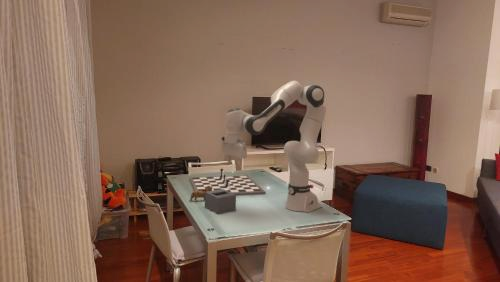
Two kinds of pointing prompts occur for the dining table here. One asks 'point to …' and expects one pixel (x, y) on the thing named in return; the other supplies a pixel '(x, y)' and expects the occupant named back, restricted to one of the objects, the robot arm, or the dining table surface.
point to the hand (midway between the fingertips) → (234, 163)
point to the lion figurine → (200, 193)
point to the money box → (220, 201)
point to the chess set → (227, 184)
